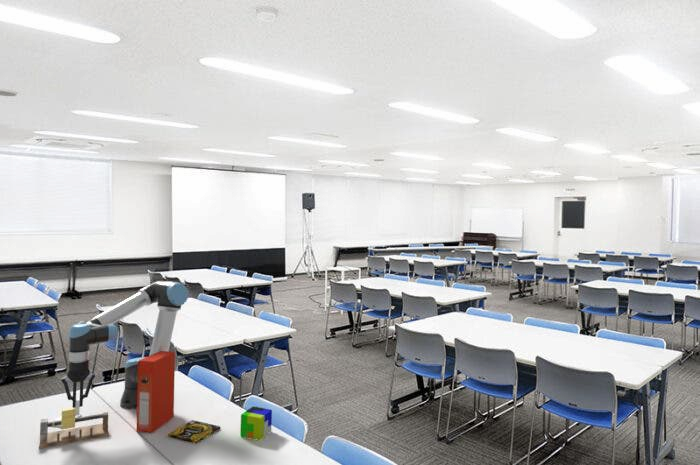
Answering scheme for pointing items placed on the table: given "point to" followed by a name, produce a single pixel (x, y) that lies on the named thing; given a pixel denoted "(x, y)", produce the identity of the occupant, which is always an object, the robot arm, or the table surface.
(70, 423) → the sleeve
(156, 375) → the file binder
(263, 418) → the puzzle toy
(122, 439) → the table surface
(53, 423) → the comb stand
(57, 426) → the external hard drive
